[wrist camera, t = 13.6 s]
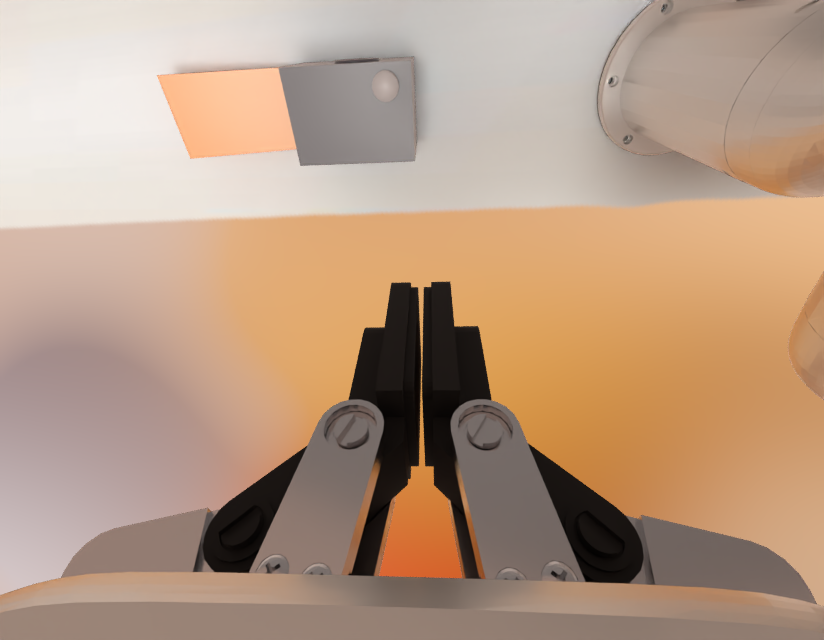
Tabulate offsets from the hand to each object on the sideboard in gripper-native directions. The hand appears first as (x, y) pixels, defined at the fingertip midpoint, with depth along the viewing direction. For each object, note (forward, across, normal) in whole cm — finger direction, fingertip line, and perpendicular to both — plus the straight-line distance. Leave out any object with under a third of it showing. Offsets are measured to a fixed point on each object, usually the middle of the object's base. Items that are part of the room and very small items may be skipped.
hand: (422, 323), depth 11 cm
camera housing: (+31, +6, -2) cm, 32 cm away
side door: (+30, +12, -2) cm, 32 cm away
